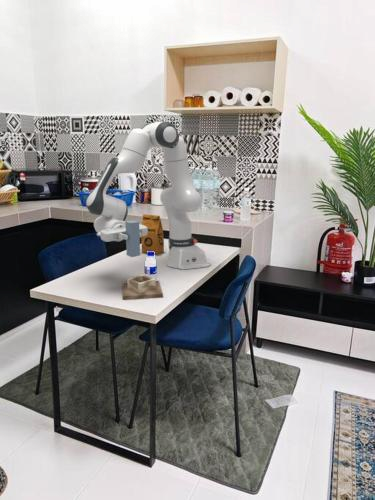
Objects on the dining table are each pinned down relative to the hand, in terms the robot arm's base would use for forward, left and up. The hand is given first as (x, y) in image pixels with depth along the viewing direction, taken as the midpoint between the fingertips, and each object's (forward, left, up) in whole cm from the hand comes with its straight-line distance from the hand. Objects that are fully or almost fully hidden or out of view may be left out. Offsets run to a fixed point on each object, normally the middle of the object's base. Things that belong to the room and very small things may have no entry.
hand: (133, 236), depth 158 cm
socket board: (-2, 0, -24) cm, 24 cm away
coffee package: (-12, -59, -24) cm, 65 cm away
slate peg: (0, -1, -8) cm, 8 cm away
